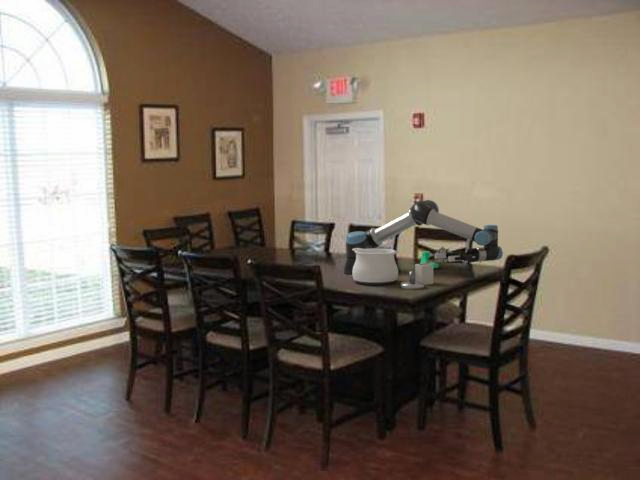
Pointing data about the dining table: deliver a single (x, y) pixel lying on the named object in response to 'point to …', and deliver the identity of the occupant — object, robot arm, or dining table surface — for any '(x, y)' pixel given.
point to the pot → (375, 266)
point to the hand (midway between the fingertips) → (441, 257)
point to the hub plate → (410, 286)
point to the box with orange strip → (424, 273)
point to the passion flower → (443, 252)
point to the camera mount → (425, 259)
